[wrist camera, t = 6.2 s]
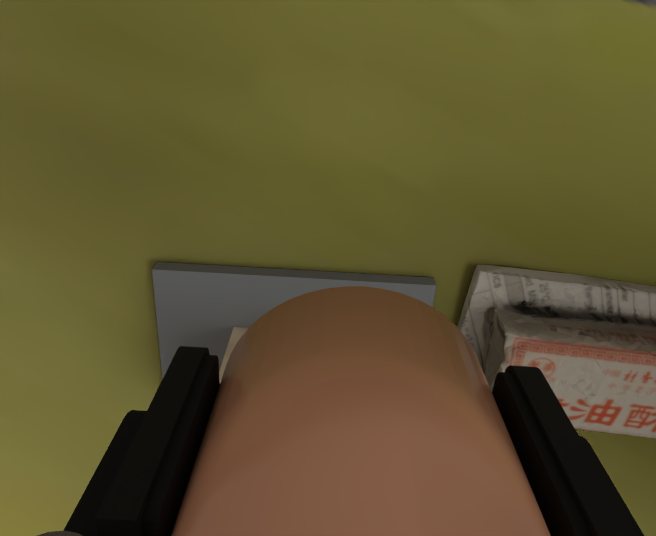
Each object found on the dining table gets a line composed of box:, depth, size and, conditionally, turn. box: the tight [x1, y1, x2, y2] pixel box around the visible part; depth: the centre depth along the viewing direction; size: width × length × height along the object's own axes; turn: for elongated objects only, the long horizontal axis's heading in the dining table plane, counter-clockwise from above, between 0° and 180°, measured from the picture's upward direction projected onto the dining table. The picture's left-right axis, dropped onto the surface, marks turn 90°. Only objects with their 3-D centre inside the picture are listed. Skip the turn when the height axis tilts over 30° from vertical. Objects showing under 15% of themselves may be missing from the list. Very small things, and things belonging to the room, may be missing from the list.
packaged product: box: [457, 265, 656, 439], centre depth 31 cm, size 18×5×10 cm
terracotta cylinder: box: [171, 286, 551, 536], centre depth 8 cm, size 6×6×6 cm
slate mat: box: [152, 262, 436, 379], centre depth 33 cm, size 16×14×1 cm
